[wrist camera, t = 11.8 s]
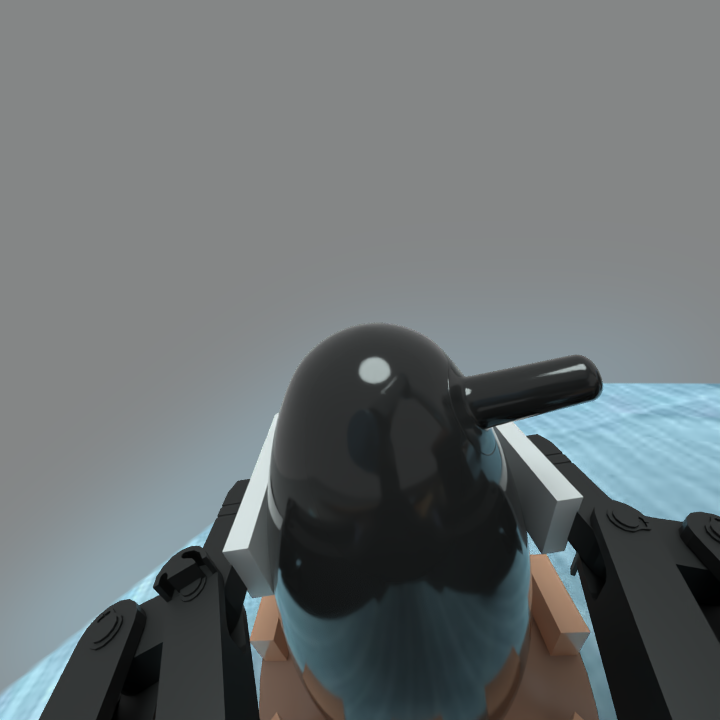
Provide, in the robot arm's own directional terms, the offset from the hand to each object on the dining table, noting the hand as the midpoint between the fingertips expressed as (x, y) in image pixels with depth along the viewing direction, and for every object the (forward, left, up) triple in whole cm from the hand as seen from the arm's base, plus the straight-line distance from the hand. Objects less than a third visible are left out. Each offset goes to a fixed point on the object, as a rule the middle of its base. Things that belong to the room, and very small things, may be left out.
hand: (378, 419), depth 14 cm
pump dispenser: (0, +5, -9) cm, 10 cm away
